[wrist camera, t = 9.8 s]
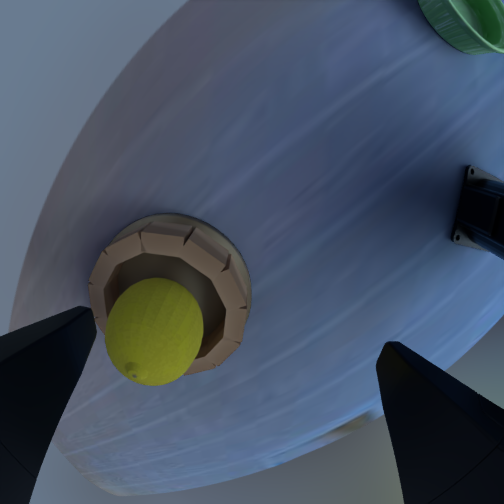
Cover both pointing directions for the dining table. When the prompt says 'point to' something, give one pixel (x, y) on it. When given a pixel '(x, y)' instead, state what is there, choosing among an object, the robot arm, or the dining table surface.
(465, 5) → the ramekin
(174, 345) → the lemon
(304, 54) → the dining table surface
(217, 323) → the wooden bowl
